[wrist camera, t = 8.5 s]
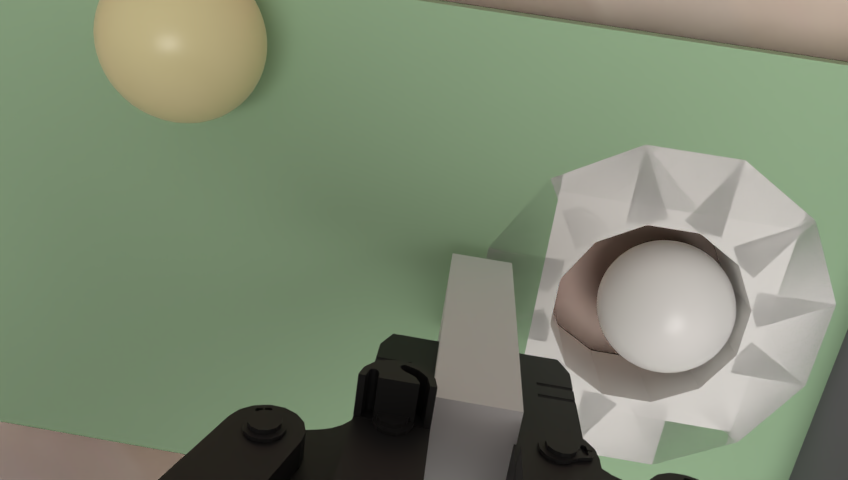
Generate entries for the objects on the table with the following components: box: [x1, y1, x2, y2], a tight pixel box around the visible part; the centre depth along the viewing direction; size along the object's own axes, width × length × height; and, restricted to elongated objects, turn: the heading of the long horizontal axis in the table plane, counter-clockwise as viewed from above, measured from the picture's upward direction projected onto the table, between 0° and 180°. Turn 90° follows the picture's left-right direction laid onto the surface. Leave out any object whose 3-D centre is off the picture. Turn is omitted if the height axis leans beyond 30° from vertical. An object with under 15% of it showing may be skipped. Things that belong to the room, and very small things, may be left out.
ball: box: [597, 240, 736, 373], centre depth 19 cm, size 4×4×4 cm
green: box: [0, 0, 848, 480], centre depth 19 cm, size 26×14×6 cm, turn 82°
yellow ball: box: [93, 0, 267, 123], centre depth 16 cm, size 4×4×4 cm
